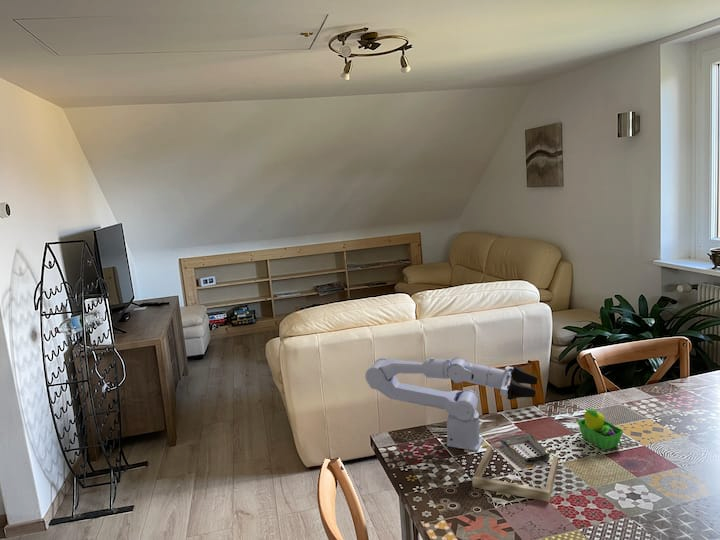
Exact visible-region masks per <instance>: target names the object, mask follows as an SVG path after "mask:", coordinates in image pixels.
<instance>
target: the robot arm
mask: <svg viewBox="0 0 720 540" xmlns="http://www.w3.org/2000/svg"><path fill="white" fill-rule="evenodd" d="M398 374H418V375H419V374H423V376H425V378H426V379H442V380H450V381H453V382H454V383H455V384H459V383H463V382H466V383H467V382H468V383H471V384H475V385H479V386H484V387H489V388H493V389H496V390H497V389H498V390H500V392H499V396H503V397H507V400H513V399H514V400H516V399H521V398H536V397H535V396H536V392H537V390H536V389H535V388H532V387H530V386H526V385H537V384H538V378H539V377H538V376H536V375H534V374H531V373H529V372H527V371H526V370H524V369H523V368H521V367H520V366H519V365H516V364H514V365H513V366H508V365H507V366H506V367H505V368H504V369H501V368H497V367H491V366H486V365H482V364H477V363H473V362H468V361H467V360H466V359H465V358H462V357H458V356H456V357H453V358H452V359H451V358H446V359H439V358H438V359H437V358H436V356H435V357H432V356H431V357H430V358H427V359H425V361H423V362H421V361H412V360H402V359H395V358H391V357H389V358H383V357H380V358H378V359H377V360H376V361H375V362H374V363H373V365H372V366H370V367H369V368H368V369H367V370H366V371H365V376H364V377H365V380H366V382H367V384H368V386H369V387H370V389H372V390H377V391H378V392H380V393H381V394H382V395H384V396H385V397H387V398H388V399H390V400H394V401H395V400H396V401H400V402H404V403H405V402H406V403H410V404H415V405H420V406H425V407H428V408H429V407H431V408H436V409H440V410H444V411H445V412H446V413H447V414H448V416H447V419H446V420H447V421H446V438H447V439H446V440H447V443H446V447H451V448H457V449H464V450H470V451H475V452H477V451H479V449H480V447H481V445H482V443H483V441H484V437H482V436H480V414H479V412H478V410H477V407H478V406H479V403H480V397H479V396H478V393H476V391H474V390H472V389H464V390H457V389H455V390H451V391H444V390H439V389H435V388H428V387H423V386H418V385H413V384H408V383H402V382H399V380H398V378H397V376H396V375H398ZM523 384H526V385H523Z"/></svg>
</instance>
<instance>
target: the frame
mask: <svg viewBox="0 0 720 540" xmlns="http://www.w3.org/2000/svg"><path fill="white" fill-rule="evenodd" d="M493 452H494V451H493V446H492V445H488V446H487V448H486V449H485V451H484V454H483V455H482V458H481V460H480V462H479V464H478V465H477V468H476V470H475V472H474V474H473V476H472V480H471V482H472V485H471V486H472V488H477V489H482V490H487V491H492V492H497V493H501V494H506V495H513V496H518V497H522V498H527V499H532V500H537V501H542V502H548V503H549V502H550V500H551V497H552V493H553V488H554V486H555V485H554V484H555V480H556V476H557V471H558V467H559V456H553V457H552V462H551V465H550V469H549V471H548V476H547V480H546V484H545V487H544V488H542V487H541V488H539V487H534V486H529V485H524V484H519V483H512V482H509V481H502V480H497V479H491V478H486V477H483V476H484V473H486V472H485V471H486V469H487V467H488V465H489V463H490V460H491V459H492V456H493Z"/></svg>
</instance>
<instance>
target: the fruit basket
mask: <svg viewBox="0 0 720 540" xmlns="http://www.w3.org/2000/svg"><path fill="white" fill-rule="evenodd" d="M576 422H577V424H578V427H579V430H580V433H581V436H582V438H583V439H585V440H587V441H589V443H592V444H593V445H595V446H596V447H598V448H600V449H601V450H603V451H606V450H609V449H613V448H616V447H618V446H619V442H620V440H621V437H622V435H623V433H624V430H623V429H621V428H620V427H618V426H617V425H613V424H611V423H610V422H608V421H607V420H606V419H605V416H604V415H603V414H602V413H600V412H599V411H597V410H596V409H595V408H589V409H586V411H585V412H584V418H583V419H582V418H581V419H579V420H577V421H576Z"/></svg>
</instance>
